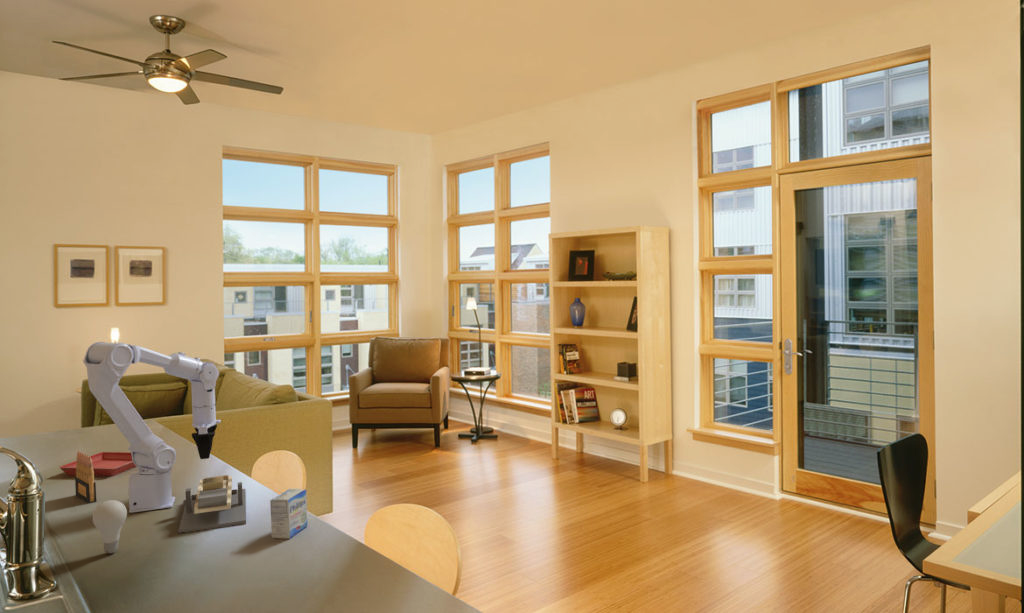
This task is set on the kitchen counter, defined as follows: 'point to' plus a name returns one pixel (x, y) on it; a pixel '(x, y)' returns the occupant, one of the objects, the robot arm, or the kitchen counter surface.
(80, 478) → the ammunition clip
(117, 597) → the kitchen counter surface
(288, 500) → the medicine box
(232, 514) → the stand
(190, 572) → the kitchen counter surface
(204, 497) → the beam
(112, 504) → the lightbulb
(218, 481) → the block
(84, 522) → the kitchen counter surface
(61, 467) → the red tray
